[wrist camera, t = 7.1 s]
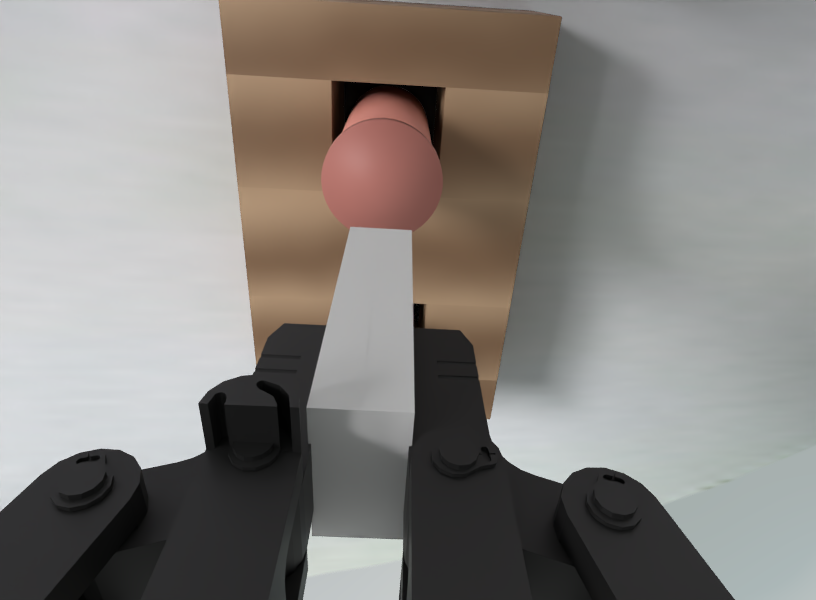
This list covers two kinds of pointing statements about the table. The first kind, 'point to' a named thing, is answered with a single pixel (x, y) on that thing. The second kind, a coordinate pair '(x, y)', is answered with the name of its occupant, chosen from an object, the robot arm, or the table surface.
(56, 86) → the table surface
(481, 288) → the socket block
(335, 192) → the plug red
